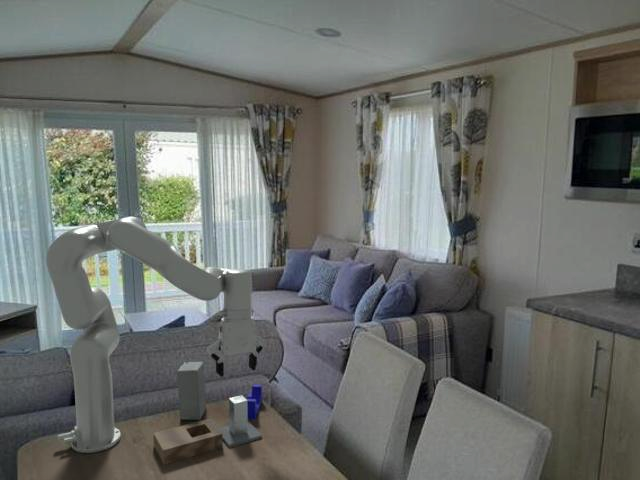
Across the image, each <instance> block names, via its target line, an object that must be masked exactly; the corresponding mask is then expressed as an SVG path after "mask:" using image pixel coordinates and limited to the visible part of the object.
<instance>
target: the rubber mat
mask: <svg viewBox="0 0 640 480" xmlns="http://www.w3.org/2000/svg"><path fill="white" fill-rule="evenodd" d="M217 428H218V427H217ZM218 429H219V430H220V432H221V433H222V442H224V443H225V444H226V446H227V447H228V448H232V447H236V446H239V445H243V444H247V443H248V442H249V443H250V442H253V441H256V440H259V439H262V438H263V435H262V434H261V433H260V431H259V430H257V428H256V427H255V426H254V425H253V424H252V423H251V422H250V421H249V420H248V433H247V434H244V435H240V436H237V437H234V436H233V435H232V433H231V432H230V431H229V425H226V426H225V425H224V426H223V427H219V428H218Z"/></svg>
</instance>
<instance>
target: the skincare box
mask: <svg viewBox="0 0 640 480" xmlns="http://www.w3.org/2000/svg"><path fill="white" fill-rule="evenodd" d="M204 364H205V363H204V361H184V362H183V364H182V365H180V366H179V368H178V369H177V371H176V373H177V374H176V375H177V392H178V405H179V419H180V420H183V421H185V420H188V421H189V420H193V421H195V420H196V421H201V419H202V417H203V415H204V413H205V412H206V409H207V401H206V385H205V367H204Z"/></svg>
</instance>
